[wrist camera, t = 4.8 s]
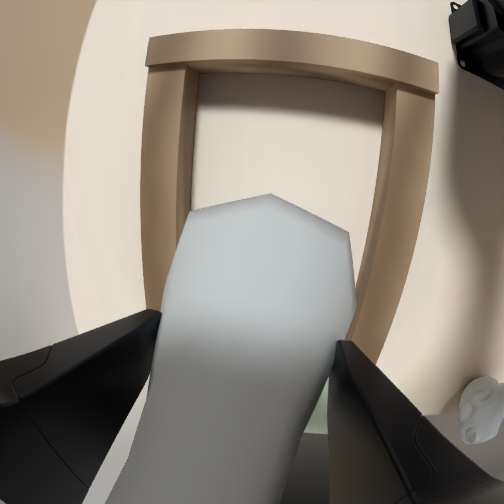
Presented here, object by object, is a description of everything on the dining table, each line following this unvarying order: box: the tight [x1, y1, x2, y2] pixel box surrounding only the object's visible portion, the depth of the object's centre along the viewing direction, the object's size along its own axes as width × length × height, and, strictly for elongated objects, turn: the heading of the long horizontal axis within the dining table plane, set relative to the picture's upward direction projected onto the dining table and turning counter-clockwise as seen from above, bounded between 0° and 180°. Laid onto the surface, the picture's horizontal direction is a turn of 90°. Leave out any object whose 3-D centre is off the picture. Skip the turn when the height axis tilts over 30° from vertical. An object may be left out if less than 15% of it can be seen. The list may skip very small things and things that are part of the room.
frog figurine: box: [458, 376, 504, 444], centre depth 18 cm, size 6×7×7 cm
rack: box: [140, 29, 439, 365], centre depth 17 cm, size 17×21×3 cm
